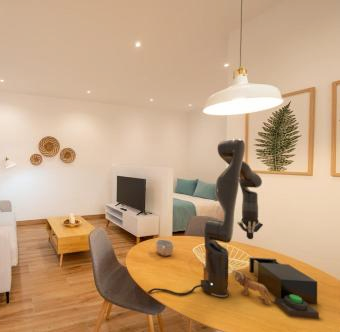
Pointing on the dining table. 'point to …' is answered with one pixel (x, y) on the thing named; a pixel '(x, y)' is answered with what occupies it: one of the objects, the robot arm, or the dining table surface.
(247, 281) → the lion figurine
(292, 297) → the button
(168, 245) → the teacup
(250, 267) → the drawer
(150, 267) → the dining table surface
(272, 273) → the cabinet
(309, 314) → the control block
